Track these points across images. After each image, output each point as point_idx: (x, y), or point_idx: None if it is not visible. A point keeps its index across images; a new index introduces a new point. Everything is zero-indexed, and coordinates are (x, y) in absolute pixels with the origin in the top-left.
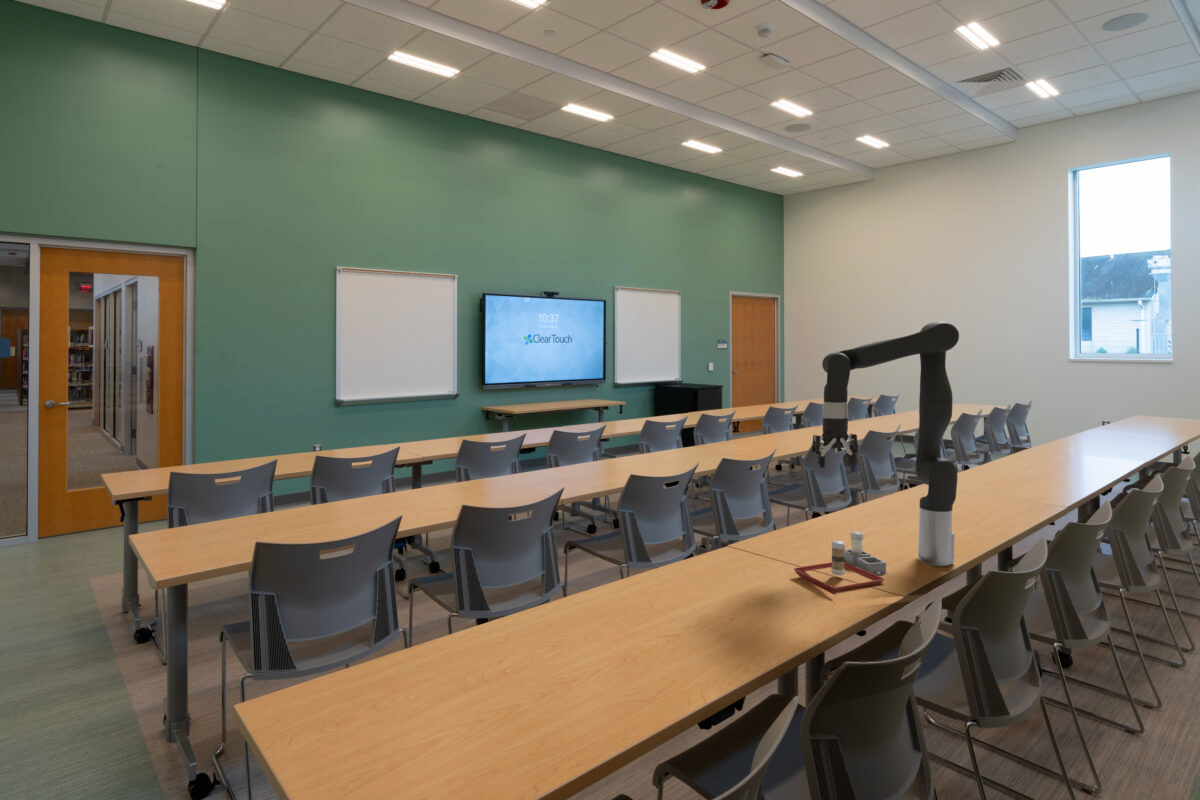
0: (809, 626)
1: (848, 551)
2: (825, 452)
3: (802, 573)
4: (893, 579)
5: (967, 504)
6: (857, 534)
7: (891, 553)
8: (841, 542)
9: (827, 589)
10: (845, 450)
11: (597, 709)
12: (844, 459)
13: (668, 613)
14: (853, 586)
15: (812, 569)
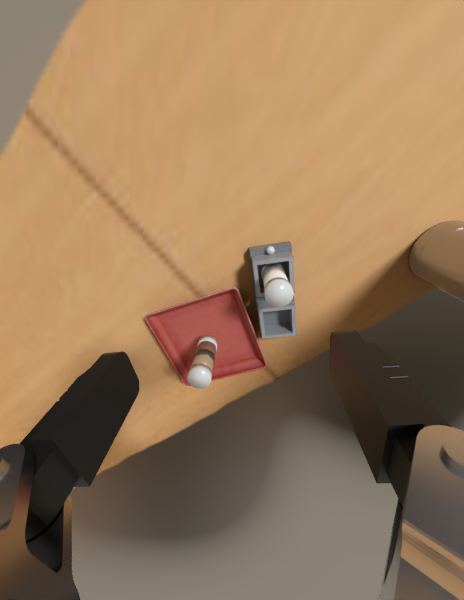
0: (147, 426)
1: (263, 263)
2: (62, 552)
3: (155, 336)
4: (299, 328)
5: None
6: (274, 304)
7: (397, 184)
8: (204, 380)
9: (184, 366)
10: (445, 516)
11: None
12: (356, 372)
13: (10, 396)
14: (215, 376)
15: (179, 306)
